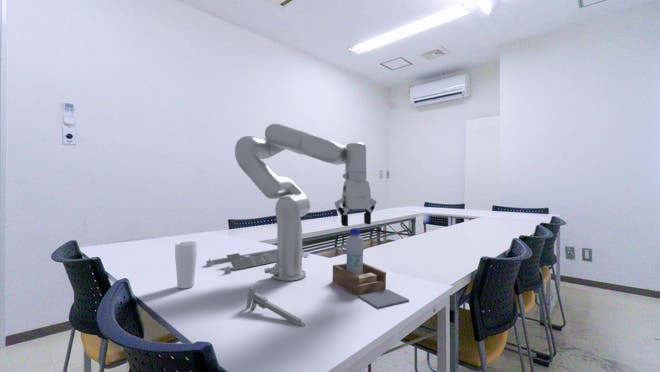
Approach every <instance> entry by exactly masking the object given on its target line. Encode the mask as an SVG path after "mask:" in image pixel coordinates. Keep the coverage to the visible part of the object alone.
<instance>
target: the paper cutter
mask: <svg viewBox="0 0 660 372" xmlns="http://www.w3.org/2000/svg"><path fill="white" fill-rule="evenodd" d="M308 256H309V253H308V252H305V251H302V258H303V257H305V258H306V257H308ZM205 262H206V266H207V267H209V268H210V267H213V266H216V265H222V264H227V263H230V264H231V267H233V269H234V270H235V271H237V270H241V269H247V268H251V267H252V268H253V267H257V266H261V265H262V266H263V265H266V264H271V263H277V248H276V249H270V250H263V251H257V252H253V253H252V252H251V253H246V254H240V253H239V252H237V253H231V254H226V257H223V258H216V259H210V258H208V260H206V261H205ZM224 268H225V269H224V270H223V273H224V275H229V274H231V273H232V270H231V269H230V266H229V265H227V266H226V267H224Z"/></svg>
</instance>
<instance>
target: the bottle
mask: <svg viewBox="0 0 660 372" xmlns="http://www.w3.org/2000/svg"><path fill="white" fill-rule="evenodd" d="M349 231H350V235H348V236H347V237H346V241H345V251H346V263H347V268H346V270H347V271H349V272H351V273H353V274H355V275H362V274H363V263H364V250H365V242H364V238H363V236H361V235H360V234H361V233H360V232H361V231H360V229H359V228H357V227H354V228H351V229H350V230H349Z"/></svg>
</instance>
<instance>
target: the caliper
mask: <svg viewBox="0 0 660 372" xmlns="http://www.w3.org/2000/svg"><path fill="white" fill-rule="evenodd" d="M257 306H258V307H259V308H262V310H265V309H268V310H269V311H271V312H273V313H275V314H277V315H278V316H280V317H281V318H283V319H285V320H286V321H288V322H290V323H292V324H294V325H296V326H300V327H302V328H303V327H304V326H306V324H305V322H303V320H302V319H301V318H299V317H297V316H296V315H294V314H292V313H290V311H286V310H285V309H283V308H282V307H280V306H279V305H277V304H274V303H272V302H271V301H270V300H269V299H268V298H266V297H265V296H263V295H261V294H259V293H257V289H256V288H254V287H250V288H249V290H248V291H247V295H246V308H247V309H250V310H252V311H253V310H254V309H255V310H256V307H257Z"/></svg>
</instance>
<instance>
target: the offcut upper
mask: <svg viewBox="0 0 660 372" xmlns="http://www.w3.org/2000/svg"><path fill="white" fill-rule="evenodd" d="M357 276H359V285H360V284H365V283H371V282H376V281H377V275H375V274H373V273H367V274H362V275H357Z"/></svg>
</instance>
